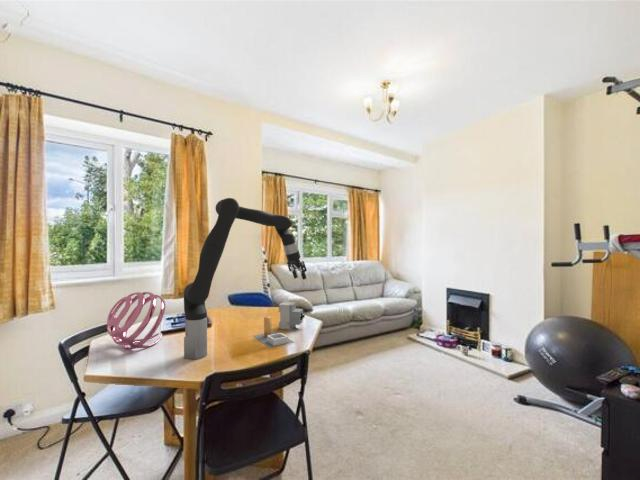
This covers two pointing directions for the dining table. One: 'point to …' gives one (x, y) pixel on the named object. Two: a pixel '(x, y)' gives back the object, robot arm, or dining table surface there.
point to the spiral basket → (121, 333)
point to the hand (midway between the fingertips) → (300, 278)
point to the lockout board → (273, 339)
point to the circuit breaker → (290, 315)
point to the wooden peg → (267, 326)
